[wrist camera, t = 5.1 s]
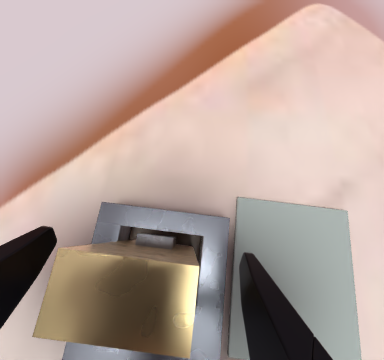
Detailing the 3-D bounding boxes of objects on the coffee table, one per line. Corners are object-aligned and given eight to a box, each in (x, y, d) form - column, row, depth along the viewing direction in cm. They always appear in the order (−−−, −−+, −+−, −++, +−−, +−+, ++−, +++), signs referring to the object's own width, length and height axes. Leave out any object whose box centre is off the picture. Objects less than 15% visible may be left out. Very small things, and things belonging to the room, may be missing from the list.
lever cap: (188, 279, 15) (189, 358, 5) (130, 271, 15) (32, 336, 5) (193, 238, 15) (201, 246, 6) (137, 231, 15) (64, 228, 6)
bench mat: (357, 371, 13) (363, 375, 13) (227, 353, 13) (228, 357, 13) (343, 211, 16) (347, 210, 16) (237, 198, 16) (238, 197, 16)
